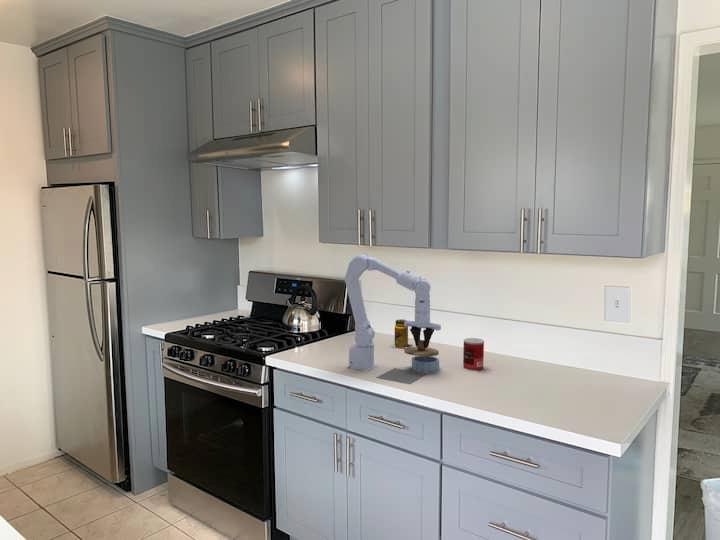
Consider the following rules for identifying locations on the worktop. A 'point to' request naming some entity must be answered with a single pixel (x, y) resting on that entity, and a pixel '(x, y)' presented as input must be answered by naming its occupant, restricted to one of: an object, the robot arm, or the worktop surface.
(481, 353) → the canned food
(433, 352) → the lid
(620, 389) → the worktop surface
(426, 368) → the bowl
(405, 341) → the condiment
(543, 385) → the worktop surface
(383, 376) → the mat
